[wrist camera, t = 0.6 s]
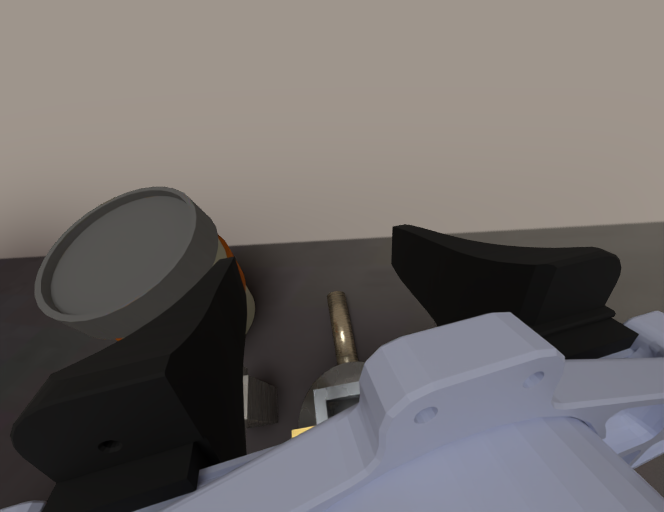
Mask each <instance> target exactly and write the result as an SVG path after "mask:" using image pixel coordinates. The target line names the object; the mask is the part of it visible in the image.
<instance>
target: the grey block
mask: <svg viewBox="0 0 664 512" xmlns="http://www.w3.org/2000/svg"><path fill="white" fill-rule="evenodd" d="M243 394H244V419H245V438H246V428H252V427H257V426H263V425H268V424H273V423H278V407H277V388H276V387H274V386H272V385H270V384H267V383H265V382H263V381H260V380H258V379H256V378H254V377H251V376H249V375H248V368H246V367H244V366H243Z"/></svg>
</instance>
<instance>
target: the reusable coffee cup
mask: <svg viewBox="0 0 664 512" xmlns="http://www.w3.org/2000/svg"><path fill="white" fill-rule="evenodd" d="M229 257H234V256H233V254H232V252H231V250H230V249H229V247H228V245H227V244H226V242H225V240H224V239H222V238H221V237H220V236H219V235H218V233H217V229H216V226H215V225H214V223H213V221H212V220H211V219H210V217H208V216H207V215H206V214H205V213H204V212H203V211H202V210H201V209H200V208H199V207H198V206H197V205H196V204H195V203H194V202H193V201H192V200H191V199H190V198H189V197H188V196H186V195H185V194H184V193H183V192H181V191H178V190H176V189H173V188H168V187H149V188H142V189H138V190H135V191H131V192H127V193H125V194H122V195H120V196H117V197H115V198H113V199H111V200H109V201H107V202H105V203H103V204H101V205H100V206H98V207H96V208H95V209H93V210H92V211H90V212H88V213H87V214H86V215H84V216H83V217H82V218H81V219H79V220H78V221H77V222H75V223H74V224H73V225H72V226H71V227H70V228H69V229H68V230H67V231H66V232H65V233H64V234H63V235H62V236H61V237H60V238H59V239H58V241H57V242H56V243H55V244H54V245H53V247H52V248H51V249H50V251H49V253H48V254H47V255H46V257H45V258H44V260H43V262H42V265H41V267H40V269H39V271H38V274H37V278H36V282H35V298H36V301H37V304H38V307H39V308H40V309H41V310H42V311H43V312H44V313H45V314H46V315H48V316H50V317H52V318H54V319H56V320H58V321H60V322H62V323H64V324H66V325H68V326H70V327H72V328H74V329H76V330H78V331H80V332H82V333H84V334H86V335H88V336H90V337H93V338H100V339H116V340H117V341H120V340H121V339H123V338H125V337H126V336H128V335H130V334H132V333H133V332H135V331H136V330H138V329H139V328H141V327H142V326H144V325H146V324H147V323H149V322H150V321H152V320H153V319H155V318H156V317H158V316H159V315H160V314H162V313H163V312H164V311H166V310H167V309H168V308H170V307H171V306H172V305H173V304H175V303H176V302H177V301H178V300H179V299H180V298H182V297H183V296H184V295H185V294H186V293H187V292H188V291H189V290H190V289H191V288H192V287H193V286H194V285H195V284H196V283H197V282H198V281H199V280H200V279H201V278H202V277H203V276H204V275H205V274H206V273H207V272H208V271H209V270H210V269H211V267H212V266H213V265H214V264H215V263H216V262H217V261H218V260H219V259H224V258H229ZM236 263H237V261H236ZM237 266H238V269H239V272H240V276H241V279H242V282H243V286H244V289H245V292H246V298H247V325H246V333H247V332H248V330H249V328H250V327H251V325H252V322H253V319H254V315H255V302H254V299H253V296H252V295H251V293H250V291H249V290H248V288H247V286H246V283H245V277H244V274H243V272H242V270H241V268H240V266H239V264H238V263H237Z"/></svg>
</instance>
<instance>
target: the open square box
mask: <svg viewBox="0 0 664 512" xmlns="http://www.w3.org/2000/svg"><path fill="white" fill-rule="evenodd" d="M313 392H314V402H315V412H316V422H317V425H318V424H319V423H321V422H323V421H325V420H327V419H329V418H330V417H331V409H330V403H331V402H336V401H342V400H347V399H352V398H357V397H360V385H359V381H357V382H352V383H347V384H342V385H337V386H332V387H326V388H321V389H316V390H313ZM312 427H314V426H311V427H306V428H301V429H295V430H292V438H293V437H295V436H297V435H299V434H301V433H303V432H305V431H306V430H308V429H310V428H312Z"/></svg>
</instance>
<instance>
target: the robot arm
mask: <svg viewBox="0 0 664 512" xmlns="http://www.w3.org/2000/svg"><path fill="white" fill-rule="evenodd" d="M391 264H392V266H393V268H394V269H395V271H396V273H397V274H398V276H399V278H400V279H401V280H402V282H403V283H404V284H405V285H406V287H407V288H408V289H409V290H410V291H411V293H412V294H413V295H414V296H415V297H416V299H417V300H418V301H419V302H420V303H421V304H422V306H423V307H424V308H425V309H426V310H427V312H428V313H429V314H430V316H431V317H432V318H433V319H434V321H435V322H436V324H437V326H438V327H435V328H431V329H427V330H424V331H420V332H416V333H413V334H409V335H405V336H401V337H399V338H397V339H395V340H392V341H390V342H388V343H386V344H384V345H382V346H380V347H379V348H378V349H377V350H376V351H375V352H374V353H373V354H372V355H371V356H370V357H369V358H368V359H367V361H366V362H365V363H364V367H363V370H362V373H361V376H360V379H359V385H360V399H359V402H358V403H356V404H354V405H353V406H351V407H349V408H347V409H345V410H343V411H342V412H340V413H338V414H336V415H334V416H332V417H330V418H329V419H327V420H325V421H323V422H321V423H319V424H318V425H316V426H314V427H312V428H310V429H308V430H306V431H305V432H303V433H301V434H299V435H297V436H295V437H293V438H292V439H290V440H288V441H286V442H284V443H282V444H280V445H276V446H273V447H270V448H267V449H264V450H261V451H257V452H254V453H251V454H248V455H247V454H246V438H245V419H244V394H243V357H244V346H245V336H246V325H247V298H246V292H245V289H244V286H243V282H242V279H241V276H240V272H239V269H238V266H237V263H236V259H235V256H234V257H229V258H224V259H219V260H218V261H217V262H216V263H215V264H214V265H213V266H212V267H211V269H210V270H209V271H208V272H207V273H206V274H205V275H204V276H203V277H202V278H201V279H200V280H199V281H198V282H197V283H196V284H195V285H194V286H193V287H192V288H191V289H190V290H189V291H188V292H187V293H186V294H185V295H184V296H183V297H182V298H180V299H179V300H178V301H177V302H176V303H175V304H173V305H172V306H171V307H170V308H168V309H167V310H166V311H164V312H163V313H162V314H160V315H159V316H158V317H156V318H155V319H153V320H152V321H150V322H149V323H147V324H146V325H144V326H142V327H141V328H139V329H138V330H136V331H135V332H133V333H132V334H130V335H128V336H126V337H125V338H123V339H121V340H120V341H118V342H116V343H114V344H112V345H110V346H109V347H107V348H105V349H103V350H101V351H99V352H97V353H95V354H93V355H91V356H89V357H87V358H85V359H83V360H81V361H79V362H77V363H74V364H72V365H70V366H68V367H66V368H64V369H62V370H60V371H57V372H55V373H53V374H51V375H50V376H49V378H48V379H47V380H46V382H45V383H44V384H43V386H42V387H41V388H40V390H39V391H38V392H37V394H36V395H35V396H34V398H33V399H32V400H31V402H30V403H29V404H28V406H27V407H26V408H25V410H24V411H23V412H22V413H21V415H20V416H19V417H18V419H17V420H16V421H15V423H14V424H13V427H12V431H11V434H10V437H11V440H12V444H13V446H14V448H15V449H16V450H17V452H18V453H19V454H20V455H21V456H22V457H23V458H24V459H26V460H27V461H28V462H30V463H31V464H32V465H34V466H35V467H36V468H38V469H39V470H40V471H41V472H43V473H44V474H45V475H47V476H48V477H49V478H51V479H52V480H53V481H55V482H56V485H55V487H54V489H53V491H52V493H51V495H50V497H49V499H48V501H47V502H46V501H37V500H33V501H28V502H23V503H20V504H16V505H13V506H10V507H7V508H3V509H0V512H664V498H663V497H662V496H661V495H660V494H659V493H658V492H657V491H656V490H655V489H654V488H653V487H652V486H650V485H649V484H648V483H647V482H646V481H645V480H644V479H643V478H642V477H641V476H640V475H639V474H638V473H637V472H636V471H635V470H634V469H635V468H637V467H639V466H641V465H642V464H644V463H646V462H648V461H650V460H652V459H654V458H656V457H658V456H660V455H661V454H663V453H664V313H662V312H660V311H652V312H649V313H646V314H642V315H639V316H636V317H633V318H630V319H628V320H627V321H626V322H624V323H623V324H621V323H619V322H618V321H616V320H614V319H613V318H611V317H614V316H615V314H616V313H615V311H614V310H612V309H610V308H608V307H606V306H605V303H606V302H607V300H608V298H609V296H610V294H611V292H612V290H613V289H614V287H615V285H616V283H617V281H618V278H619V276H620V272H621V264H620V260H619V258H618V257H617V256H616V255H615V254H612V253H610V252H607V251H605V250H603V249H600V248H596V247H571V248H534V247H517V246H506V245H497V244H489V243H483V242H477V241H471V240H467V239H462V238H458V237H454V236H450V235H446V234H442V233H438V232H435V231H431V230H428V229H424V228H420V227H416V226H412V225H406V224H404V225H399V226H394V227H393V233H392V263H391Z"/></svg>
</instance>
